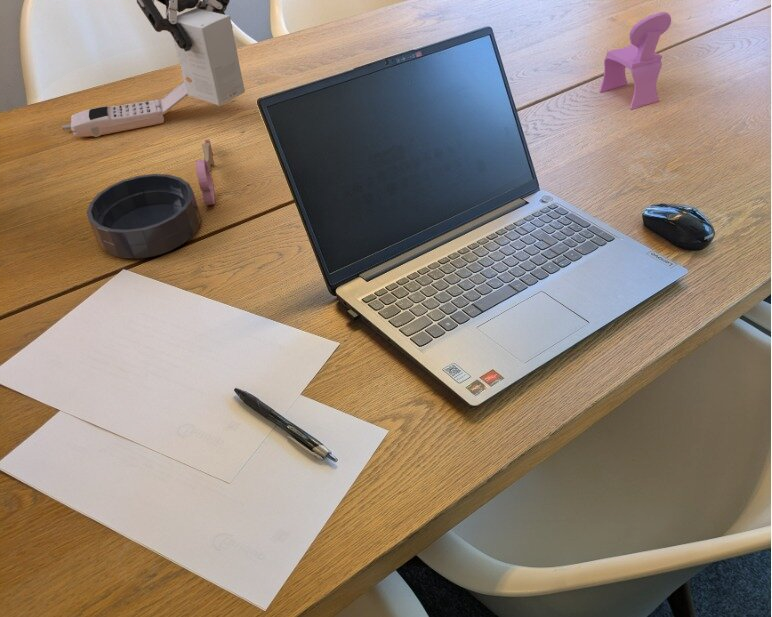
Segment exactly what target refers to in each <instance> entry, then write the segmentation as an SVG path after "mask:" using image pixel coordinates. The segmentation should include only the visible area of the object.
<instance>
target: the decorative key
mask: <svg viewBox="0 0 772 617" xmlns="http://www.w3.org/2000/svg"><path fill="white" fill-rule="evenodd" d="M201 147H202V152H203V159H199V160H195V172H196V177H197V181H198V185H199V189H200V192H202V194H201V195H202V198H203V203H204V205H205V206H211V205H215V204H216V198H215V192H214V191H215V190H214V182H213V181H214V180H213V178H212V175H211V173H212V169H211V167H214V166H215V161H214V157H213V155H214V153H213V148H212V144H211V140H210V139H205V140H204V143H201Z"/></svg>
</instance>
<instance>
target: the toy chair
mask: <svg viewBox="0 0 772 617" xmlns="http://www.w3.org/2000/svg"><path fill="white" fill-rule="evenodd" d="M671 24H672V17H671V14H670V13H669V12H665V11H662V12H658V13H654V14H653V13H652V14H651V15H649V16H647V17H644V18H642V19H641V20H640V21H637V23H636V24H634V25H633V27H632V28H631V29H630V32H629V41H630V42H629V43H630V45H627V46H625V47H621V48H617V49H611V50H609V51H606V56H605V57H604V59H603V64H604V65H603V66H604V68H603V69H604V70H603V76H602V77H603V78H602V81H601V85H600V88H599V93H604V92H607V91H610V90H613V89H618V88H621V87H623V86H627V85H628V80H627V76H626V68H627V69H628V70H629V71H630V72H631V73H630V74H631V76H632V80H633V84H634V91H633V96H632V99H631V102H630V105H629V110H634V109H638V108H641V107H644V106H647V105H651V104H653V103H654V104H655V103H657V102H659V101H660V99H659V95H658V91H657V82H658V78H659V75H660V72H661V69H662V64H663V63H662V58H663V55H661V54H660V53H657V52H656V49H657V46H658V43H659V40H660V37H661V36H662V35H663V34H664V33H666V32H667V31H668V29H670V27H671Z"/></svg>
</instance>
